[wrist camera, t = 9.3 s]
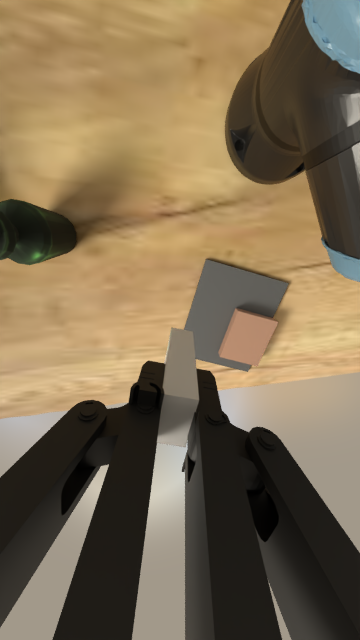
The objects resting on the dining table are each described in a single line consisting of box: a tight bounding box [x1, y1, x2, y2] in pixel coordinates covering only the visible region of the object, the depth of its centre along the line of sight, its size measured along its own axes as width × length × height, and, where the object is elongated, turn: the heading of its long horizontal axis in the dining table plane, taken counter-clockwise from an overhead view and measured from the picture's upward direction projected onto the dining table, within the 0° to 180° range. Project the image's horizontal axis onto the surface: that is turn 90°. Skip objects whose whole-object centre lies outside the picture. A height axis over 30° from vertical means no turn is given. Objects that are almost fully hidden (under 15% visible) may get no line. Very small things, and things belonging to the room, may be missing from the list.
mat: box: [184, 259, 289, 372], centre depth 43 cm, size 20×16×1 cm
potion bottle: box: [0, 199, 76, 265], centre depth 29 cm, size 8×8×18 cm
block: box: [218, 308, 278, 366], centre depth 43 cm, size 10×2×8 cm
